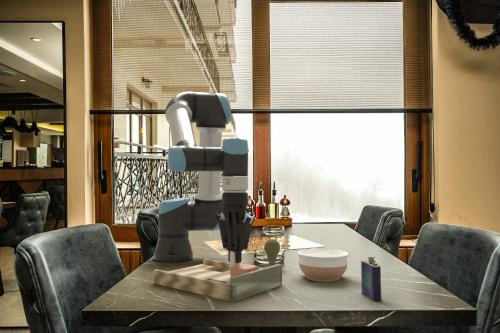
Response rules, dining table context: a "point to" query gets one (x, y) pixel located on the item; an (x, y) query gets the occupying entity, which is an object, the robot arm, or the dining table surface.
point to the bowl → (323, 264)
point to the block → (242, 269)
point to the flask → (371, 279)
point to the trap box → (220, 280)
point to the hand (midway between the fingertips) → (234, 273)
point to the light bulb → (272, 250)
